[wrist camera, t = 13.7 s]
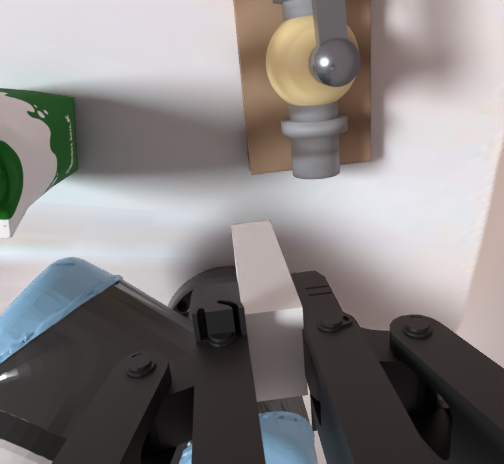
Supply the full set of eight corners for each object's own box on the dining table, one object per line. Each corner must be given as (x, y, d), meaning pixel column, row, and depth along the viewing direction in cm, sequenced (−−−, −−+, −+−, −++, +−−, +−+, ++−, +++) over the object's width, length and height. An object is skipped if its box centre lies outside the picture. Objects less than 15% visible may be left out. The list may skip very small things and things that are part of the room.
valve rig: (364, 156, 48) (403, 182, 39) (249, 169, 48) (260, 199, 38) (363, -67, 41) (411, -104, 31) (228, -55, 41) (234, -89, 31)
